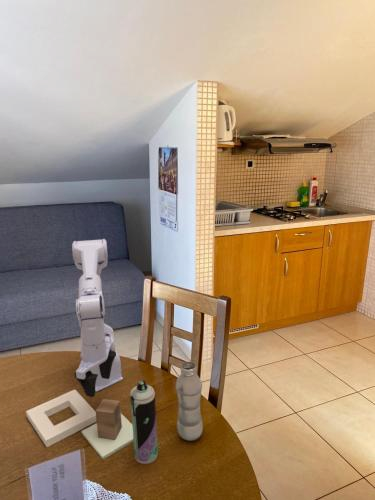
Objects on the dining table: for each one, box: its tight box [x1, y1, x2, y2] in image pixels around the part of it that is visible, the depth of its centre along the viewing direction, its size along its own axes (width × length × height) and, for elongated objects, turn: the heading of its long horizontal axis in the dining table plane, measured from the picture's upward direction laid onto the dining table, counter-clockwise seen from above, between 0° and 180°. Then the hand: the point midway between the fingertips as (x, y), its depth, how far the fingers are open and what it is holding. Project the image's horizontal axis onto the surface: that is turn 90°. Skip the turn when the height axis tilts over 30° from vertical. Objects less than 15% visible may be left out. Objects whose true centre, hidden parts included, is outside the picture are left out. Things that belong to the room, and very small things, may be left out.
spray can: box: [129, 380, 159, 465], centre depth 90 cm, size 6×6×20 cm
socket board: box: [25, 389, 97, 448], centre depth 105 cm, size 14×14×2 cm
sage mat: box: [81, 413, 134, 460], centre depth 99 cm, size 11×11×1 cm
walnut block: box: [95, 398, 122, 440], centre depth 98 cm, size 4×4×8 cm
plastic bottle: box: [175, 361, 204, 442], centre depth 96 cm, size 6×7×20 cm
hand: (98, 386), depth 101 cm, fingers open, 7 cm apart
